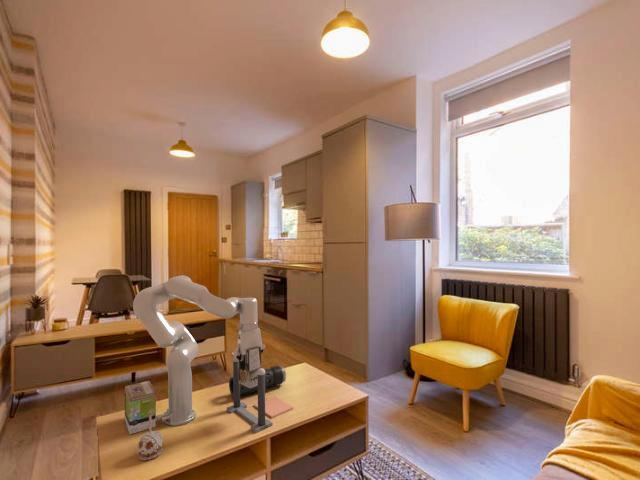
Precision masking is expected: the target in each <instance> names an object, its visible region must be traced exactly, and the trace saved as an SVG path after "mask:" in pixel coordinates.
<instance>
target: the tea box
mask: <svg viewBox="0 0 640 480" xmlns="http://www.w3.org/2000/svg"><path fill="white" fill-rule="evenodd" d="M150 412H151V416H152V428H156V425H157V423H156V422H157V419H156V416H157V391H156V390H155V388H154V386H153V384H152V383H151V381H150V380H148V381H143V382H139V383H138V382H137V383H133V384H129V385H125V387H124V421H125V425H126V427H127V430H128V434H129V435H132V434H135V433H136V434H137V433H139V432H143V431H146V430H149V413H150Z"/></svg>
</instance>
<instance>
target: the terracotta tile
mask: <svg viewBox="0 0 640 480" xmlns="http://www.w3.org/2000/svg"><path fill="white" fill-rule="evenodd" d="M253 407H254V408H256V409H257V410H258V402H256V403H254V404H253ZM294 408H295V407H294V406H292V405H291V404H289V403H288V402H286V401H284V400H282V399H281V398H279V397H277V396H272V397H269V398H267V399H266V398H265V416H267V417H269V418H270V419H274V418H276V417H278V416H282V414H285V413H288V412H290V411H292V410H294Z"/></svg>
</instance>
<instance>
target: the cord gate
mask: <svg viewBox="0 0 640 480" xmlns="http://www.w3.org/2000/svg"><path fill="white" fill-rule="evenodd" d="M232 369H233V370H232V374H233V376H232V377H233V396H232V398H233V403H232V404H233V405H231V406H228V407H226V411H227V412H228V413H229V414H233V413H237V414H239V415H240V416H241V417H242V418H244V419H245V420H246V421H248V422H249V423H251V424H252V425H251V426H250V430H252V432H254V433H255V434H257V433H260V432H261V431H263V430H266V429H268V428H271V427H273V425H274V423H273V421H272V420H269V419H268V418H266V414H265V400H266V388H265V370H264V369H265V368H264V367H261V368H260V369H259V370H258V372H257V374H258V390H257V403H258V409H257V416H256V415H254V414H253V413H252V412H250V411H248V410H247V408H248V407H247V406H248V404H246V403H245V402H243V401H241V396H240V383H239V368H238V359H237V358H236V357H235V356H233V359H232Z"/></svg>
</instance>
